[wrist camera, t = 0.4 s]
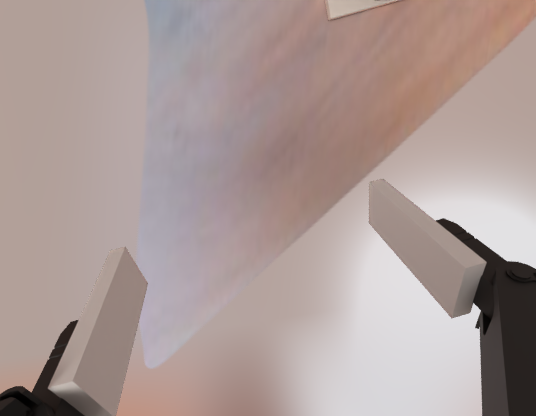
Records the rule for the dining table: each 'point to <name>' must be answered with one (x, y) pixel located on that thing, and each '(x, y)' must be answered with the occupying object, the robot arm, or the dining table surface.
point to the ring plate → (351, 6)
